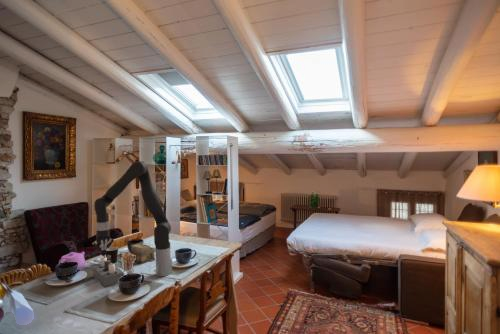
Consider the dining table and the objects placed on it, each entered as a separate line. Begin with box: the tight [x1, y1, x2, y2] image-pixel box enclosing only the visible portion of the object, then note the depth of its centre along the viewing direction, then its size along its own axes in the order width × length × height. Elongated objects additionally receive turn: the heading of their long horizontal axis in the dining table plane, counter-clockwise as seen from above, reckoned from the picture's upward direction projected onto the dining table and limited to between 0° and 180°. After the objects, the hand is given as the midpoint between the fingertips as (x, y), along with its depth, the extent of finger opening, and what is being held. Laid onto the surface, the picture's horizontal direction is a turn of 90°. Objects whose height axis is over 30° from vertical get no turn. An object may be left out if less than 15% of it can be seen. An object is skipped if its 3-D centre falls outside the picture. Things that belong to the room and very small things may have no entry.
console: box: [92, 263, 124, 288], centre depth 190 cm, size 11×22×6 cm, turn 43°
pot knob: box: [104, 260, 111, 272], centre depth 189 cm, size 4×4×6 cm
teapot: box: [58, 251, 86, 271], centre depth 202 cm, size 20×12×13 cm, turn 165°
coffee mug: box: [103, 246, 119, 265], centre depth 218 cm, size 12×9×10 cm
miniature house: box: [130, 242, 156, 265], centre depth 222 cm, size 15×14×11 cm
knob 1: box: [100, 256, 107, 268], centre depth 195 cm, size 4×4×6 cm
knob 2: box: [109, 263, 116, 275], centre depth 184 cm, size 4×4×6 cm
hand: (103, 255), depth 195 cm, fingers closed
